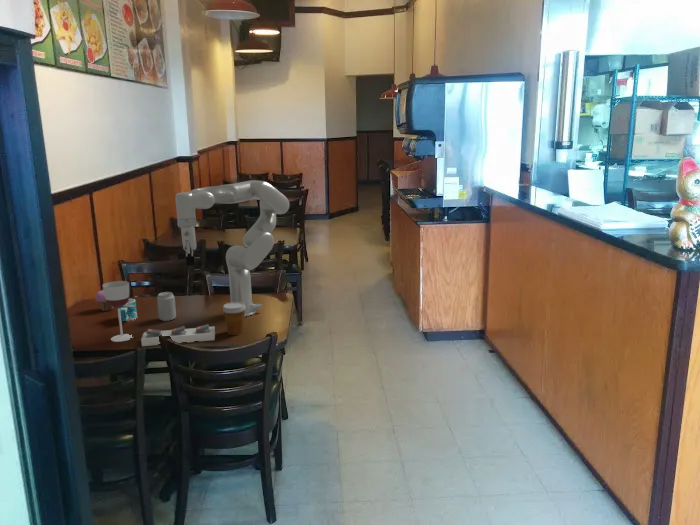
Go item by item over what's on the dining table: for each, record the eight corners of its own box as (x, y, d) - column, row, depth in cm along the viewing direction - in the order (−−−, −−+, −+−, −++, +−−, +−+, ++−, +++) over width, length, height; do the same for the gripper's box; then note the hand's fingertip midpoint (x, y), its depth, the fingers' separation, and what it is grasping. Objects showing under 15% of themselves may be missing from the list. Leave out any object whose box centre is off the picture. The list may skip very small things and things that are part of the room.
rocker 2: (209, 326, 234) (208, 323, 234) (208, 328, 231) (208, 326, 231) (197, 329, 234) (196, 327, 233) (196, 332, 231) (195, 329, 230)
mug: (139, 315, 264) (137, 298, 262) (133, 324, 252) (131, 306, 250) (120, 316, 263) (118, 299, 261) (113, 325, 251) (111, 307, 249)
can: (171, 322, 254) (168, 296, 251) (155, 321, 255) (153, 295, 252) (179, 316, 261) (177, 291, 258) (164, 315, 262) (161, 290, 259)
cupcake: (118, 310, 271) (116, 290, 269) (99, 314, 266) (96, 293, 264) (114, 305, 278) (112, 286, 276) (95, 309, 274) (92, 289, 271)
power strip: (215, 333, 239) (214, 326, 238) (214, 340, 231) (213, 332, 231) (144, 339, 234) (144, 332, 233) (141, 346, 226) (141, 339, 225)
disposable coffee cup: (226, 337, 233) (224, 309, 231) (222, 330, 242) (220, 303, 239) (249, 334, 237) (248, 306, 234) (244, 327, 246) (242, 300, 243)
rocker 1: (160, 332, 231) (160, 330, 231) (159, 335, 228) (159, 332, 228) (147, 331, 230) (147, 328, 230) (146, 333, 227) (146, 331, 227)
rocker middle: (185, 328, 232) (184, 325, 232) (184, 330, 229) (183, 328, 229) (172, 331, 232) (172, 329, 232) (172, 334, 229) (171, 331, 228)
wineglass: (113, 334, 240) (106, 281, 234) (137, 333, 241) (131, 280, 235) (106, 342, 231) (99, 287, 226) (131, 341, 232) (125, 286, 226)
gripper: (195, 224, 232) (198, 268, 236) (197, 219, 246) (200, 260, 250) (175, 225, 230) (180, 270, 235) (179, 220, 245) (183, 261, 249)
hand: (190, 265), depth 242 cm, fingers closed
